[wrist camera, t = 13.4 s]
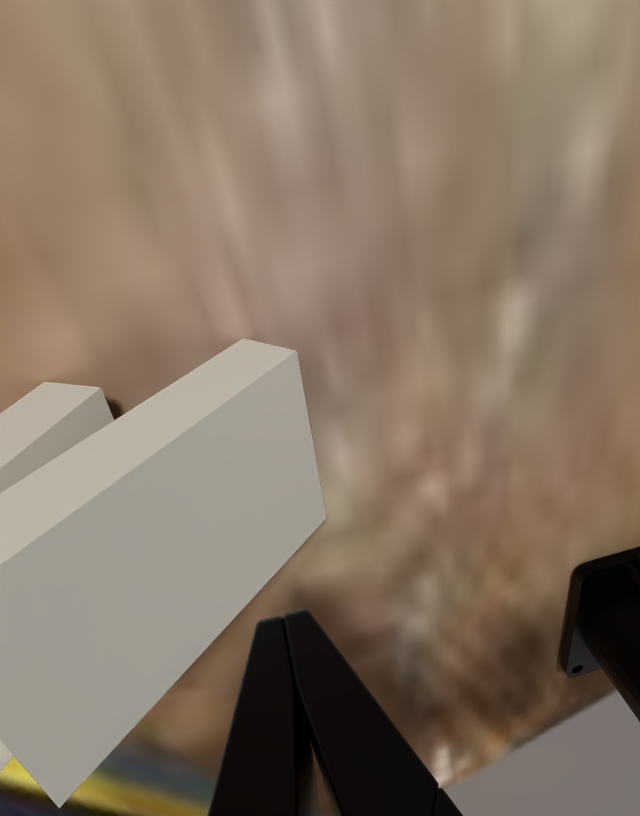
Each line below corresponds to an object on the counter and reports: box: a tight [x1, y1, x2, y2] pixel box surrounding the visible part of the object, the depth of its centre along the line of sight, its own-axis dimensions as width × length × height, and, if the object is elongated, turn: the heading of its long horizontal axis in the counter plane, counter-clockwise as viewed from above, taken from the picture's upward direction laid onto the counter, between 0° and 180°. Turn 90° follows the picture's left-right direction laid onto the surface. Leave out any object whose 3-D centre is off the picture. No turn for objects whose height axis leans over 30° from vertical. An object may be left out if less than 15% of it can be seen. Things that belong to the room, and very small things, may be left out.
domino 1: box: [0, 339, 326, 808], centre depth 11 cm, size 5×2×8 cm
